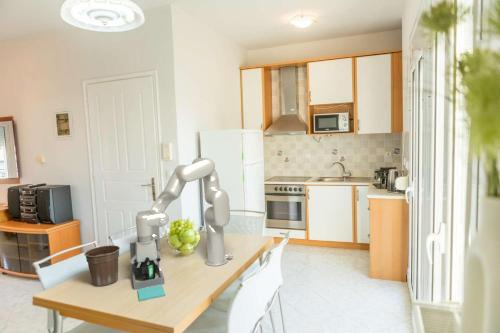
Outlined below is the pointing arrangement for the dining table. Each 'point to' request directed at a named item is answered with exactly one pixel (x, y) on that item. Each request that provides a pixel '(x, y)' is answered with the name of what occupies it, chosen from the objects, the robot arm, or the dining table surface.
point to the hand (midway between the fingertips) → (148, 272)
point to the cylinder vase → (155, 229)
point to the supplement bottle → (147, 270)
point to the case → (135, 273)
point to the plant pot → (103, 264)
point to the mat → (151, 292)
